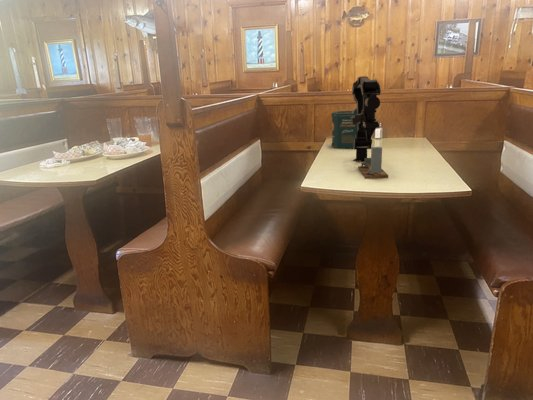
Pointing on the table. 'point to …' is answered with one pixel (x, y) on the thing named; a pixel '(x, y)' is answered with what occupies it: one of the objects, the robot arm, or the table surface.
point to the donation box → (343, 129)
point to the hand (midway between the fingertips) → (368, 140)
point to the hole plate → (368, 167)
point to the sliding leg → (376, 160)
